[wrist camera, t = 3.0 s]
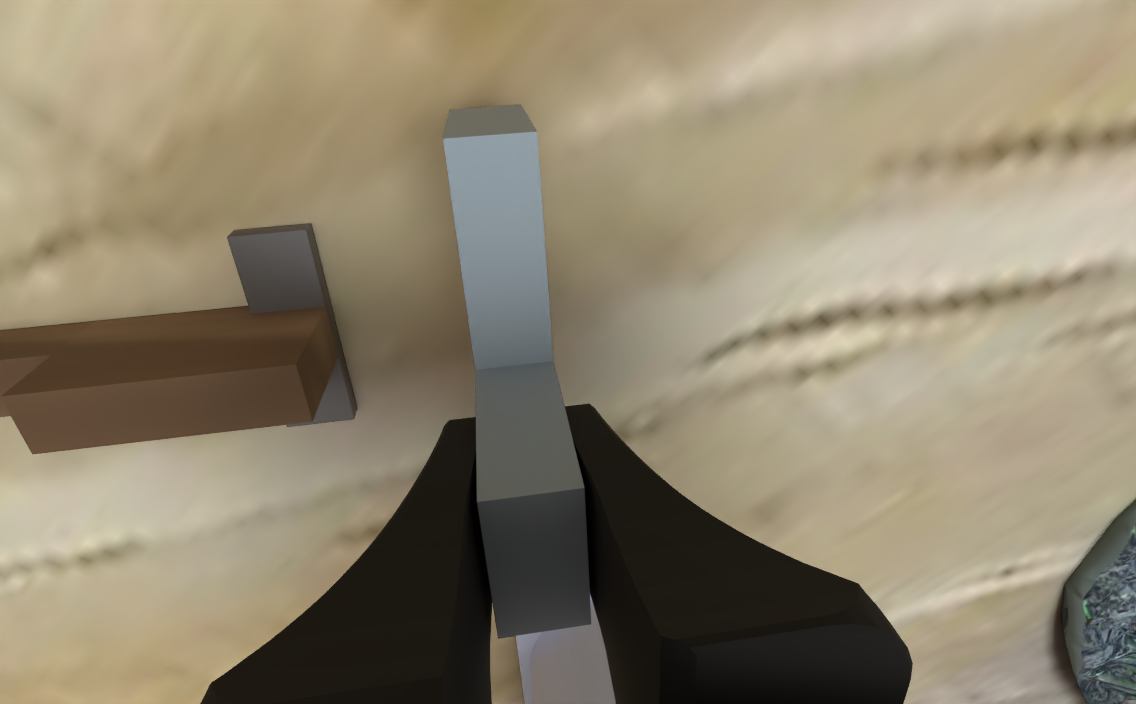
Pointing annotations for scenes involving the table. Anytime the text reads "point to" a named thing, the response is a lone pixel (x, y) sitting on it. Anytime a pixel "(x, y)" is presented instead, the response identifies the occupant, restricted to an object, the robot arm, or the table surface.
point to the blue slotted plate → (499, 230)
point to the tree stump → (1104, 616)
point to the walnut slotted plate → (188, 361)
